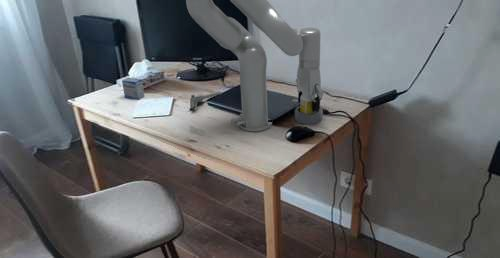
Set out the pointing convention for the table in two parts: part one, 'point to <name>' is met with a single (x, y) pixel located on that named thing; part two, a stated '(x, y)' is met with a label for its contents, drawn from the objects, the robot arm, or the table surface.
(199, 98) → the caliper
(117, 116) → the table surface
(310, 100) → the pill bottle
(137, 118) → the table surface
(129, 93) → the medicine box
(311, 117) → the socket cup
